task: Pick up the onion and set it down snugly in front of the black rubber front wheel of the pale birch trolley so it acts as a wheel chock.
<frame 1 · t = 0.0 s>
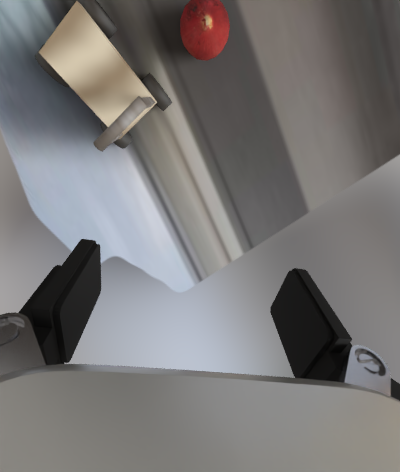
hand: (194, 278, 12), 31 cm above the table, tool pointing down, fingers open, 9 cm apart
trolley: (113, 80, 33), on the table
onion: (202, 36, 31), on the table
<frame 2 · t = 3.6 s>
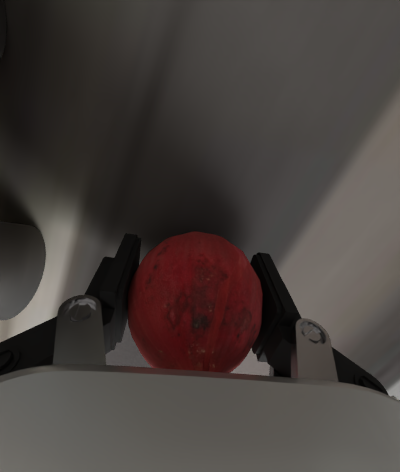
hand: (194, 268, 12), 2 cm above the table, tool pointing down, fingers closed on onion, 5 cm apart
onion: (193, 249, 14), on the table, touching gripper
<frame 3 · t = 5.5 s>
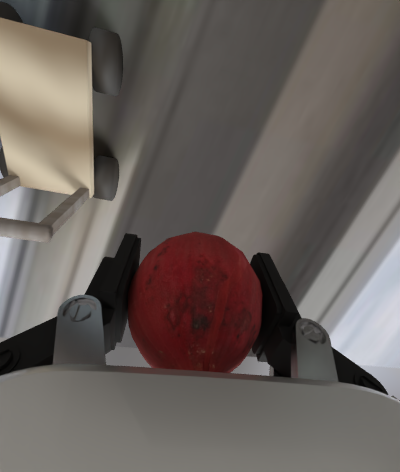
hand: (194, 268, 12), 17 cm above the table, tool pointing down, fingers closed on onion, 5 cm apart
trolley: (71, 116, 24), on the table
onion: (193, 249, 14), point 16 cm above the table, touching gripper
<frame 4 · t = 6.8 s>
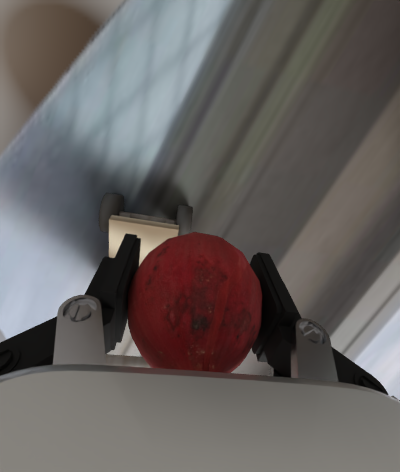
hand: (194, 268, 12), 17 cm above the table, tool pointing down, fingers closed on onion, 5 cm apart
trolley: (147, 244, 31), on the table
onion: (193, 249, 14), point 15 cm above the table, touching gripper
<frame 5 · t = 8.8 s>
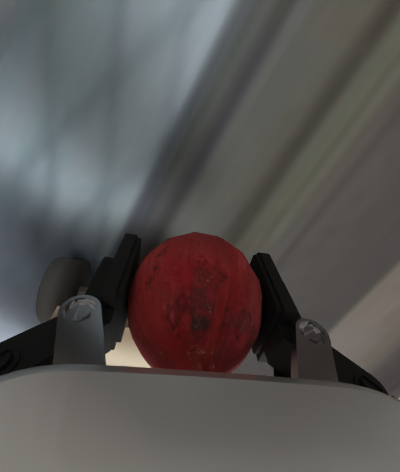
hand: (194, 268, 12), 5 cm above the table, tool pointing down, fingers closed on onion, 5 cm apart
trolley: (129, 318, 21), on the table
onion: (193, 249, 14), point 3 cm above the table, touching gripper
when the fingers open (3 cm above the table, at t = 10.1 s): onion drops 1 cm, on the table.
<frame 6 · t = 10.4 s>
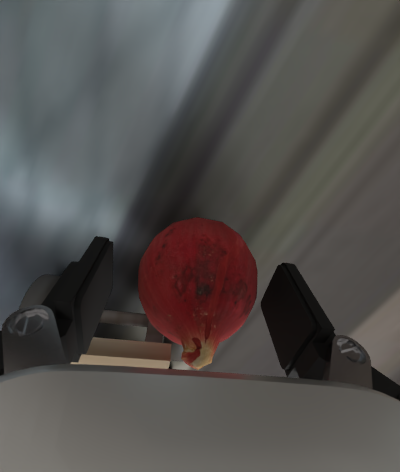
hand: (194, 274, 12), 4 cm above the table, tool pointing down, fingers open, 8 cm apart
trolley: (123, 336, 20), on the table
onion: (195, 236, 15), on the table
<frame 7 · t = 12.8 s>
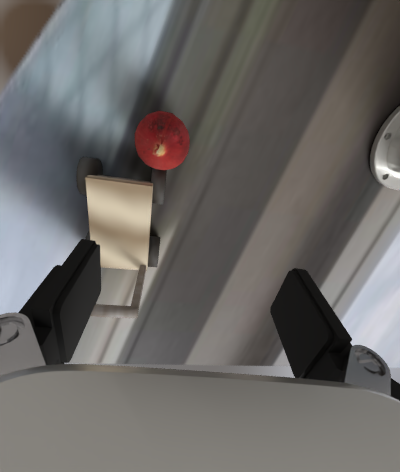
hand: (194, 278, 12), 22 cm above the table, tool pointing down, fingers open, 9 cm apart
trolley: (128, 211, 33), on the table
onion: (164, 136, 29), on the table
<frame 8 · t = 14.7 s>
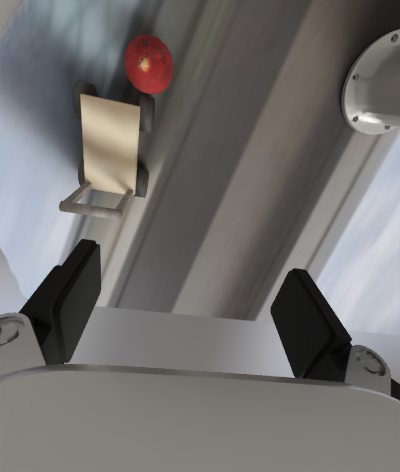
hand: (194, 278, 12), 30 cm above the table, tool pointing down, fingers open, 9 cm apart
trolley: (120, 143, 36), on the table
onion: (153, 68, 32), on the table
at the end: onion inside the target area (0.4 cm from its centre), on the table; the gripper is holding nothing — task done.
